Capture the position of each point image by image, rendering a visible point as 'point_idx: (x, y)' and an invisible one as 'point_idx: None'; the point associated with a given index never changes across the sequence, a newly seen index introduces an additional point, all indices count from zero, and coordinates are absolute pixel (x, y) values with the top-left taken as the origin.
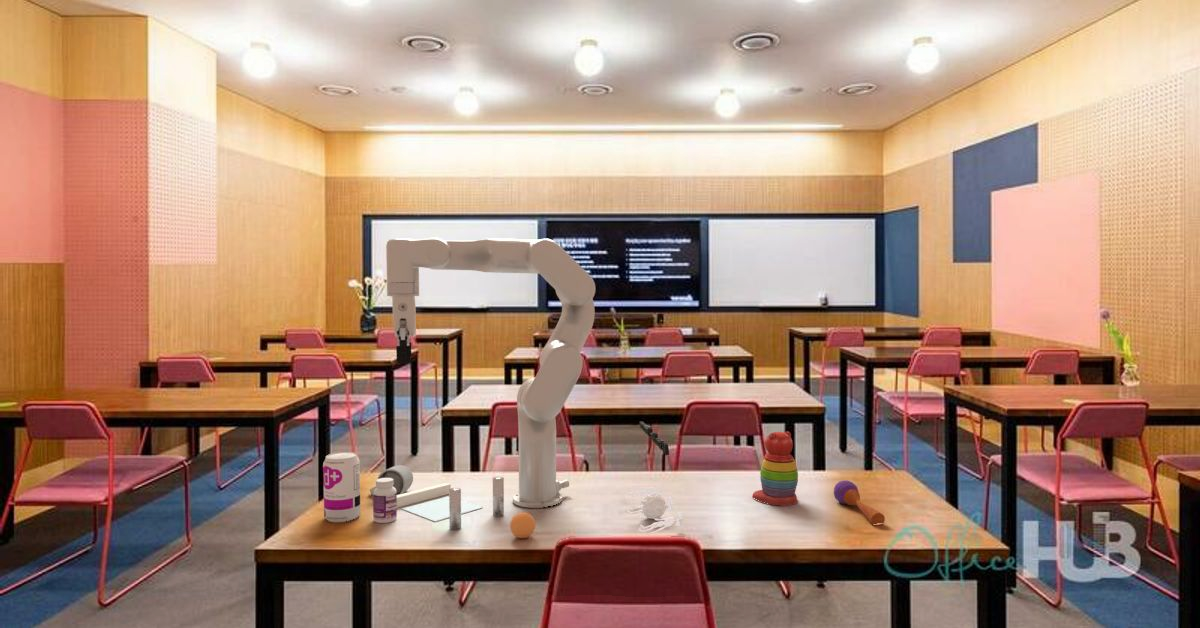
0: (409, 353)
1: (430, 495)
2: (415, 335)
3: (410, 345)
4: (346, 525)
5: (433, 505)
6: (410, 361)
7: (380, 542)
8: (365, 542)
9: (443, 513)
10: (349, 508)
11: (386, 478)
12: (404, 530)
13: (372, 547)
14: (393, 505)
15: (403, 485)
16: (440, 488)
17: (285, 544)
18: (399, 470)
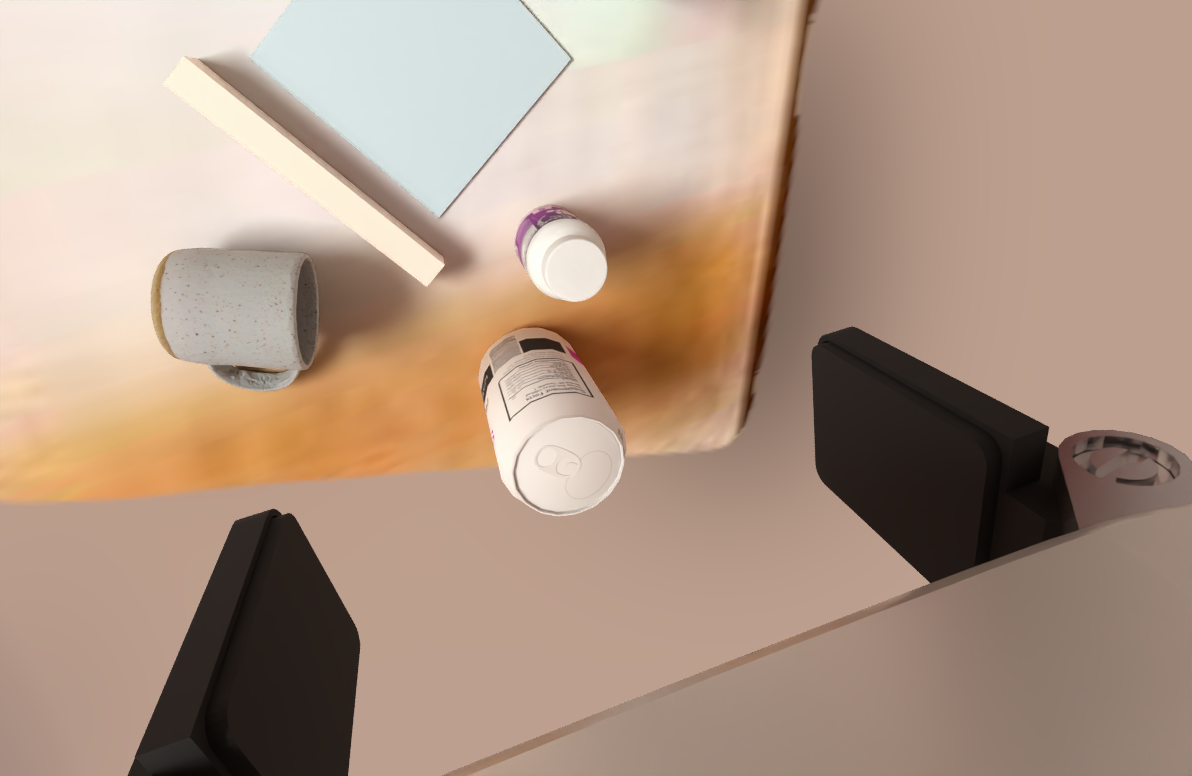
0: (934, 384)
1: (293, 138)
2: (1161, 515)
3: (234, 678)
4: (593, 335)
5: (392, 103)
6: (854, 328)
7: (730, 193)
8: (725, 235)
9: (486, 40)
10: (573, 352)
11: (561, 270)
12: (643, 149)
13: (762, 204)
14: (575, 216)
15: (305, 258)
16: (241, 100)
17: (715, 417)
18: (271, 296)
